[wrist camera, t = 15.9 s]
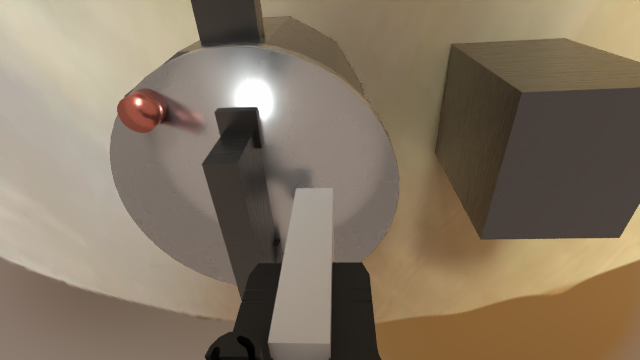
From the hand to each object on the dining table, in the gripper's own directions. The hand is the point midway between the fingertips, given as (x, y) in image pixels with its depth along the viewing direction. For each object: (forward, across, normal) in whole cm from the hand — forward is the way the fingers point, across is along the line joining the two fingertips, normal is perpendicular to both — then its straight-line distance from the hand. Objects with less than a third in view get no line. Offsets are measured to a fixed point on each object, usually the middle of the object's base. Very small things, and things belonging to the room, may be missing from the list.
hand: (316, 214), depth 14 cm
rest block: (+12, +12, 0) cm, 17 cm away
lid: (+2, -3, 0) cm, 4 cm away
